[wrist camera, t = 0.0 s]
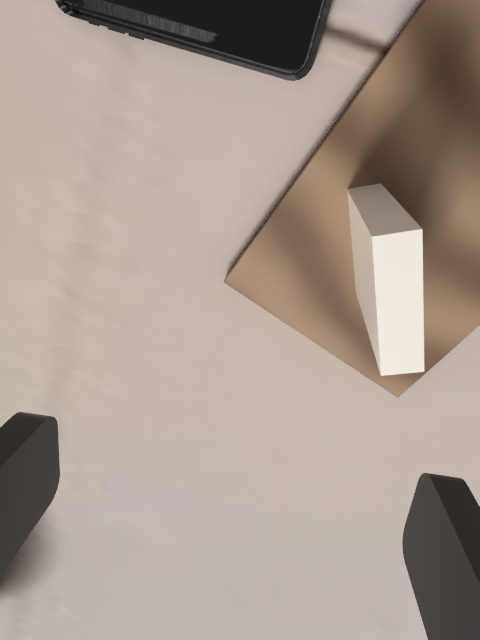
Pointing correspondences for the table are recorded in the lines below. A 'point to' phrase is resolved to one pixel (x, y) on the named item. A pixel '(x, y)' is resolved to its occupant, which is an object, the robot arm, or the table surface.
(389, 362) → the block
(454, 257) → the board
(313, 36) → the phone
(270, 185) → the table surface
